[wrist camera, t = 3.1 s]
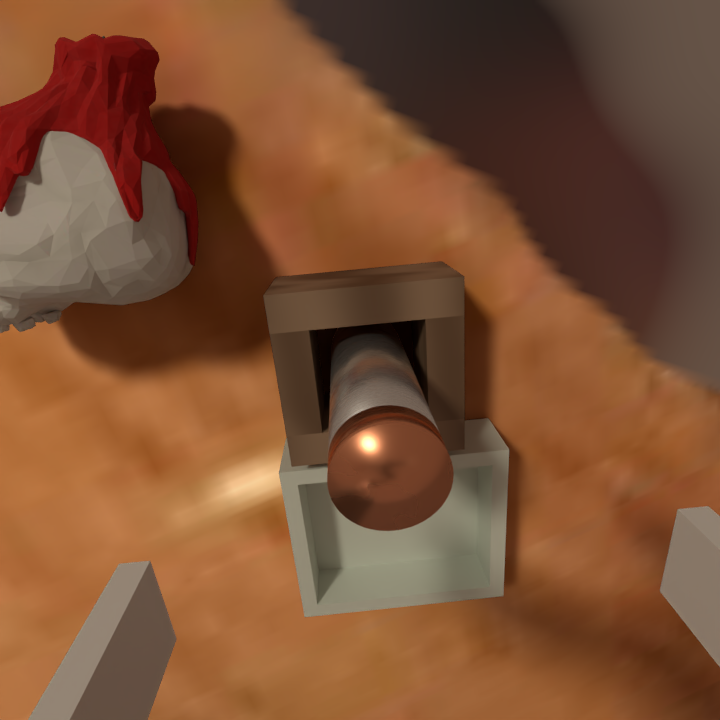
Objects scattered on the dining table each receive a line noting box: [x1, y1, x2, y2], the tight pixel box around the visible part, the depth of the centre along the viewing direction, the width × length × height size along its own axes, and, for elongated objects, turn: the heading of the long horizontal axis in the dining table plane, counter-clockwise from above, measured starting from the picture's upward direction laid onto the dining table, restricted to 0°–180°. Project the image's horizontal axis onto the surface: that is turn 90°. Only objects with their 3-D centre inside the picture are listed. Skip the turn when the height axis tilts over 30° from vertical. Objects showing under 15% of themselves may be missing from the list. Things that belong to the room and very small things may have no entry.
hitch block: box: [263, 262, 465, 467], centre depth 26 cm, size 10×10×5 cm
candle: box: [0, 34, 198, 333], centre depth 21 cm, size 9×11×15 cm
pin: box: [327, 323, 454, 531], centre depth 22 cm, size 4×4×14 cm
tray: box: [279, 418, 509, 617], centre depth 31 cm, size 14×12×4 cm
